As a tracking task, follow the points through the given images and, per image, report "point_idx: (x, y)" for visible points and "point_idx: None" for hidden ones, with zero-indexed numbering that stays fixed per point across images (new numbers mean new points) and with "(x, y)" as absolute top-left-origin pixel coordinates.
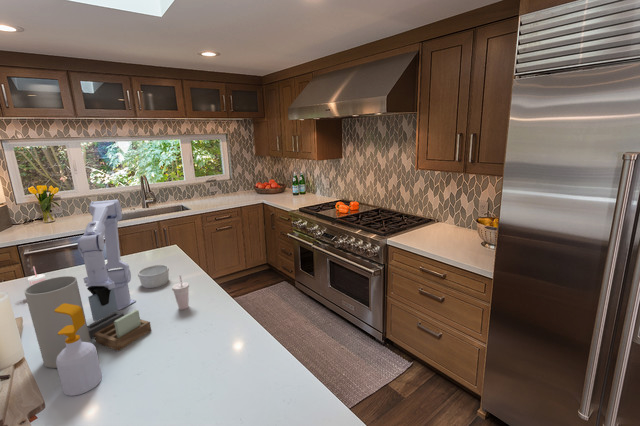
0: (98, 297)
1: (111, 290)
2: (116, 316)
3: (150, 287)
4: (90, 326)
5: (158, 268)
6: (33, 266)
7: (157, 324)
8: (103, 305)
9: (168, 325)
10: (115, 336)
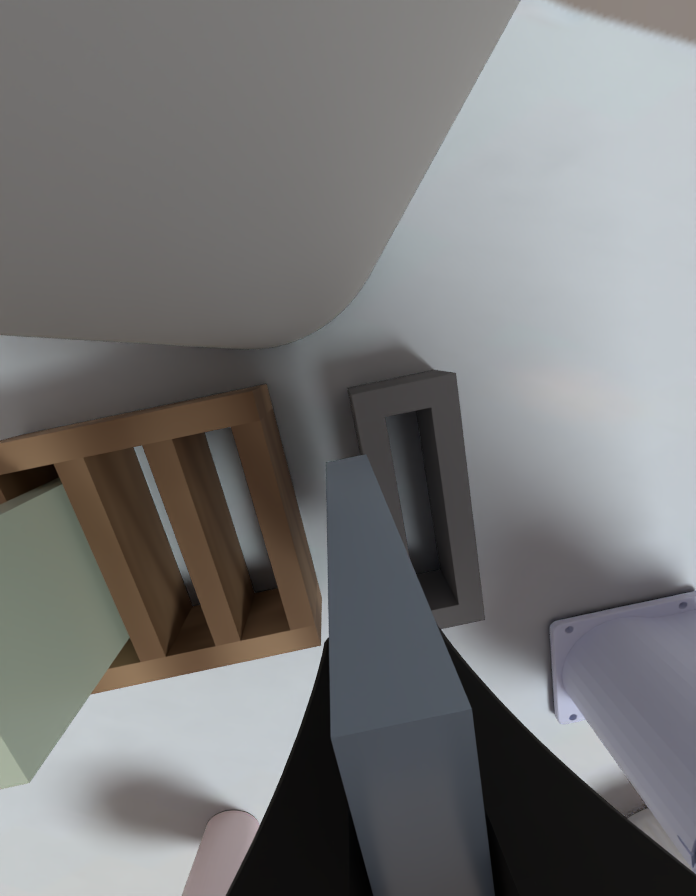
0: (343, 785)
1: None
2: None
3: (634, 822)
4: (433, 426)
5: None
6: None
7: (162, 685)
8: (324, 647)
9: (95, 714)
10: (64, 480)
